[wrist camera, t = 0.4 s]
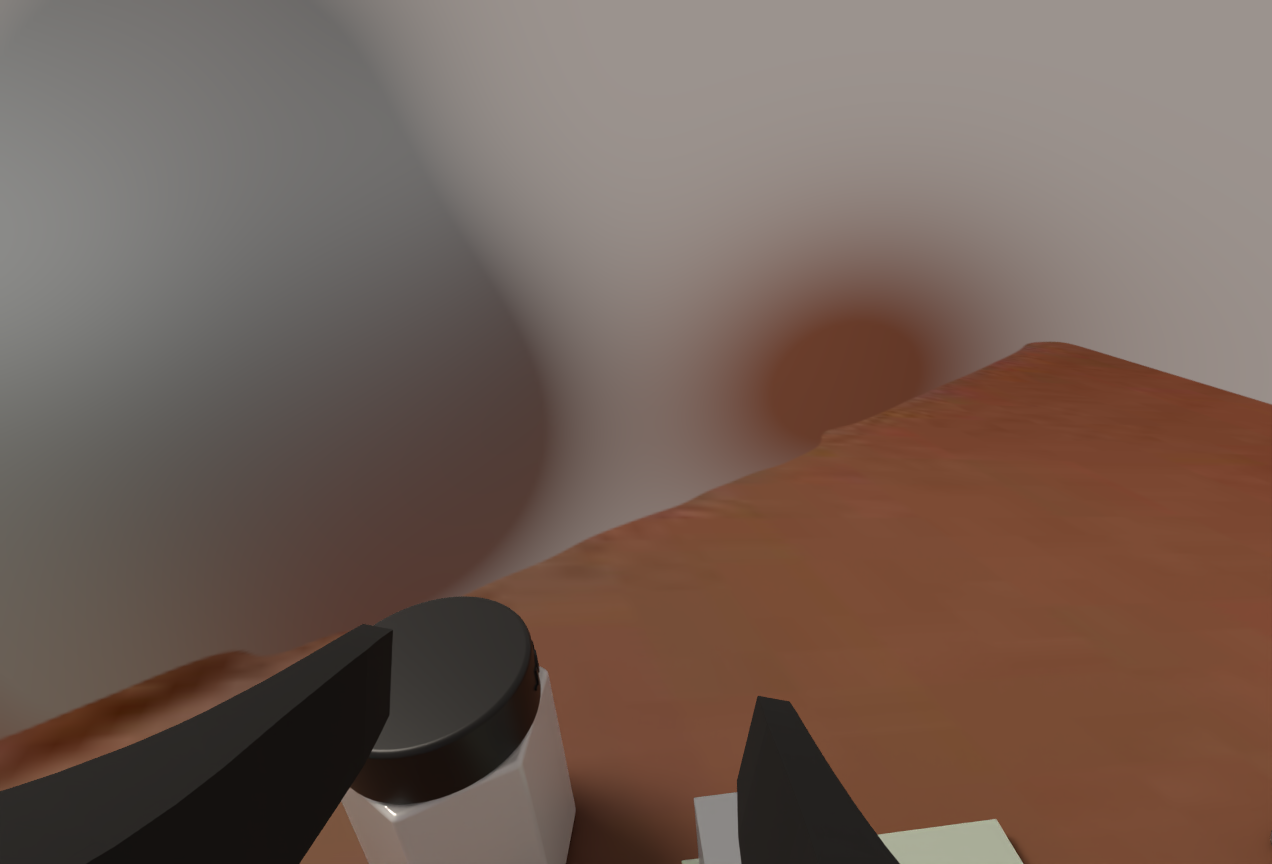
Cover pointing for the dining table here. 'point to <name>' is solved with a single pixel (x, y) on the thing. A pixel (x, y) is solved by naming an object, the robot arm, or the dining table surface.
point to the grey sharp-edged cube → (717, 829)
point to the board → (949, 845)
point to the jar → (464, 745)
